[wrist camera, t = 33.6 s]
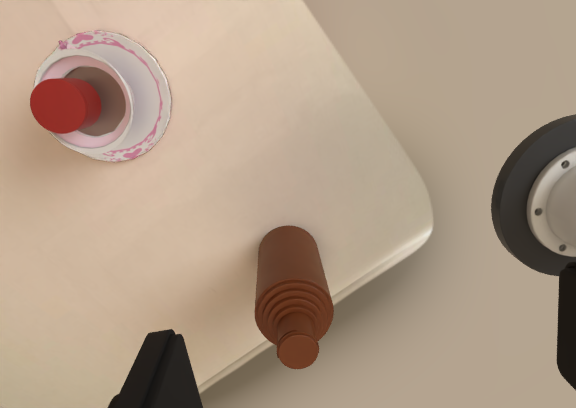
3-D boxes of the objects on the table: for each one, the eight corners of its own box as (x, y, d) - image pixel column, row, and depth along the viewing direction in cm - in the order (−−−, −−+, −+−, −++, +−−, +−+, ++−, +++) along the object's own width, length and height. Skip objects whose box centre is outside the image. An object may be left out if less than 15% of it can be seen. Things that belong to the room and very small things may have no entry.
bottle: (312, 220, 45) (336, 303, 28) (322, 273, 47) (350, 381, 30) (252, 232, 45) (242, 322, 29) (265, 285, 47) (262, 398, 31)
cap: (97, 76, 34) (80, 76, 31) (106, 126, 35) (91, 131, 32) (45, 80, 34) (23, 80, 31) (57, 130, 35) (37, 135, 32)
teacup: (191, 139, 42) (178, 150, 36) (78, 176, 42) (47, 193, 36) (141, 12, 38) (117, 1, 32) (19, 55, 39) (-26, 52, 33)
